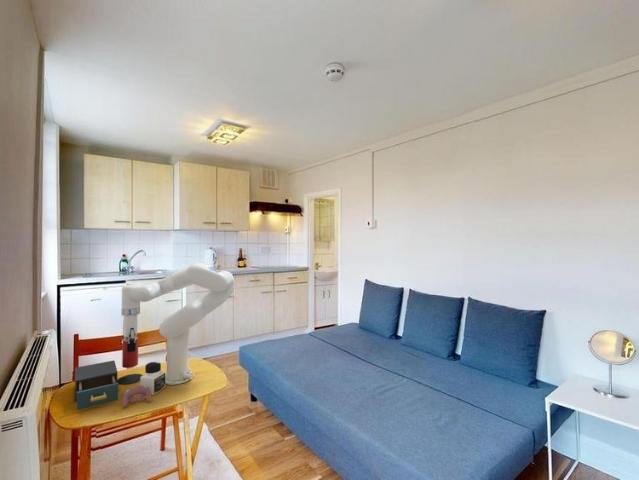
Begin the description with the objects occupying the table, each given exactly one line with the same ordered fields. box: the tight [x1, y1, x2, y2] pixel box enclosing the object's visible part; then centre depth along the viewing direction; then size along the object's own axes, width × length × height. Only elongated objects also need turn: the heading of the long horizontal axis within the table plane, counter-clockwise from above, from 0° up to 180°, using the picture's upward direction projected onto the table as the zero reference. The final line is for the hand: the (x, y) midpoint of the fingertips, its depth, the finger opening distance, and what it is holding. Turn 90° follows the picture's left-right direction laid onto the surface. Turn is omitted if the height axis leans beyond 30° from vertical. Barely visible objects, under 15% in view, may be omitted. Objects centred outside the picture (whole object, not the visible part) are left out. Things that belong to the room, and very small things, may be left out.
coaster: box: [117, 373, 144, 386], centre depth 150 cm, size 10×10×1 cm
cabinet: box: [74, 359, 119, 402], centre depth 140 cm, size 16×15×9 cm
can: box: [121, 336, 139, 369], centre depth 149 cm, size 6×6×13 cm
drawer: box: [76, 374, 119, 411], centre depth 129 cm, size 19×13×7 cm
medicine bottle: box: [139, 361, 166, 396], centre depth 140 cm, size 7×7×12 cm
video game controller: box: [122, 385, 152, 409], centre depth 130 cm, size 10×5×7 cm, turn 123°
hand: (130, 348), depth 149 cm, fingers closed on can, 6 cm apart
